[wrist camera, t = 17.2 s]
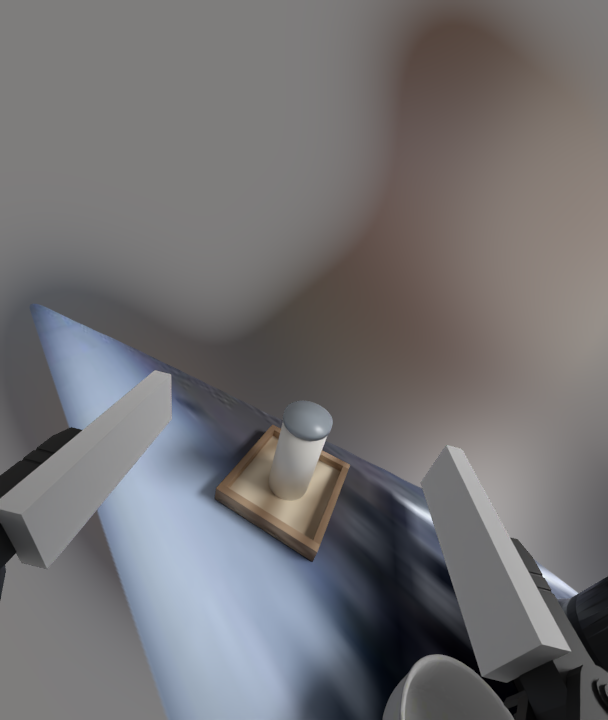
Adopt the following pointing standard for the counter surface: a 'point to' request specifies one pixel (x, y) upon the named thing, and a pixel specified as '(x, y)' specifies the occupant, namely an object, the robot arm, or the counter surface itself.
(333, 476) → the tray
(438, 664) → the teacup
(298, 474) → the canister
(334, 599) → the counter surface
